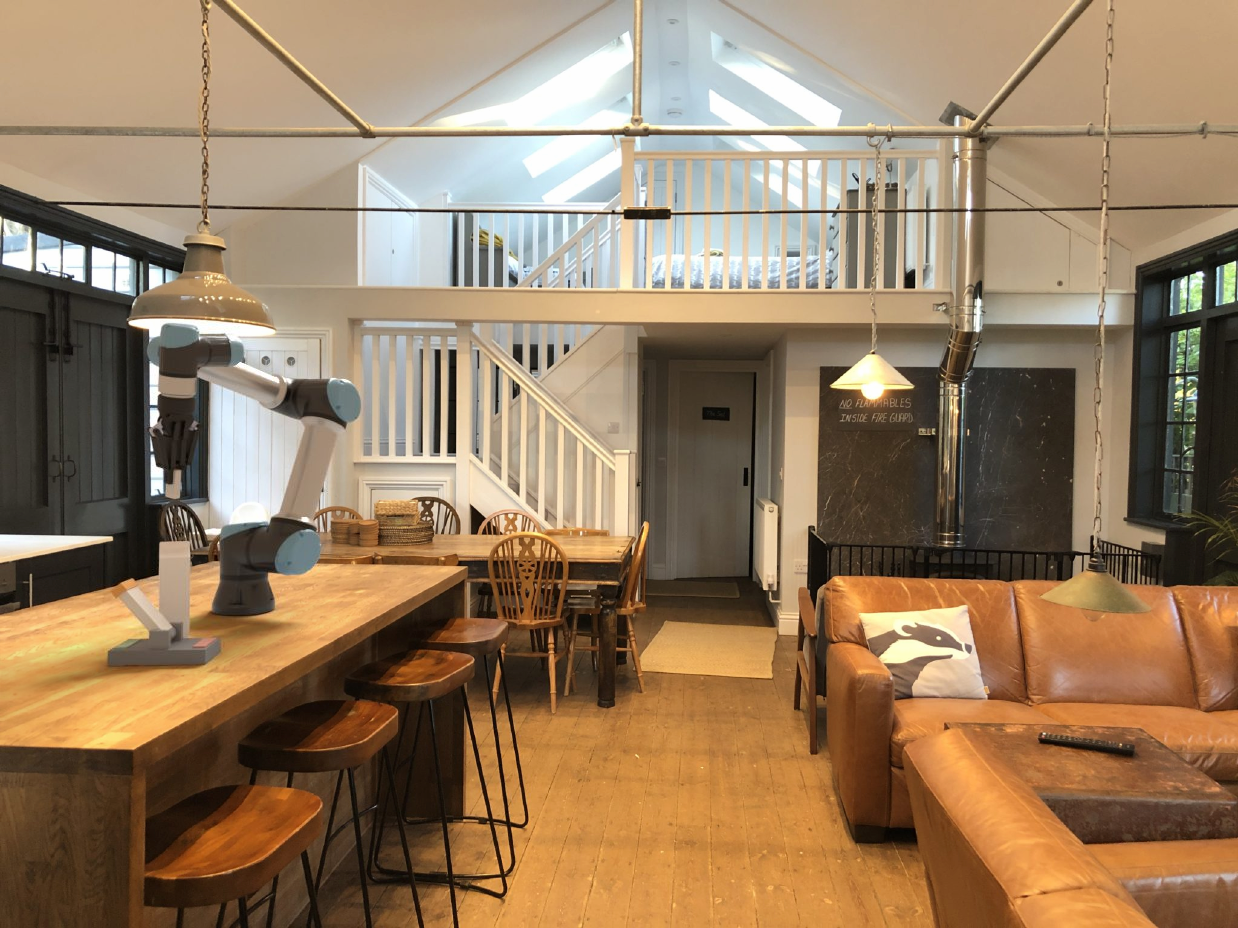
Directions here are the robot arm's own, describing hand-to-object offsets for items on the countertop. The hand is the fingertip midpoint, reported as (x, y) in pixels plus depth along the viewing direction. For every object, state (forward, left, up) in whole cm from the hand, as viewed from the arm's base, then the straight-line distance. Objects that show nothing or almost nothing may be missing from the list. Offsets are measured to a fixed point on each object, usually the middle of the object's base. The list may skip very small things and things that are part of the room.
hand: (172, 497), depth 189 cm
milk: (+2, +5, -32) cm, 32 cm away
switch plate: (+11, +19, -32) cm, 38 cm away
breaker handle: (+10, +19, -28) cm, 35 cm away
